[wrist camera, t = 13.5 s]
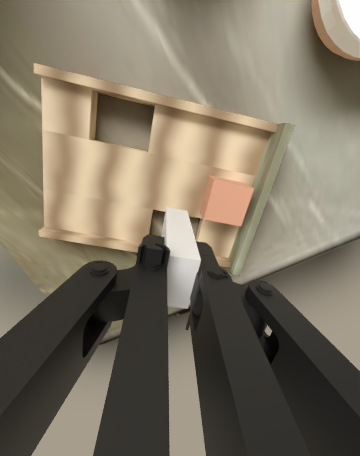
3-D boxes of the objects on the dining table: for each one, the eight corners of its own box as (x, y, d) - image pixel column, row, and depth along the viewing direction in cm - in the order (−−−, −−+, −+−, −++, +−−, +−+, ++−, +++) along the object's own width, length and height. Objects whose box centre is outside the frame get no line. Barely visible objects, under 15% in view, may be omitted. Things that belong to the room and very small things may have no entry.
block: (199, 210, 34) (203, 219, 30) (209, 175, 32) (214, 179, 28) (233, 217, 34) (241, 226, 31) (244, 182, 32) (254, 188, 29)
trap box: (52, 226, 36) (30, 242, 31) (51, 72, 28) (22, 56, 23) (229, 256, 40) (239, 275, 34) (273, 127, 32) (295, 125, 26)
